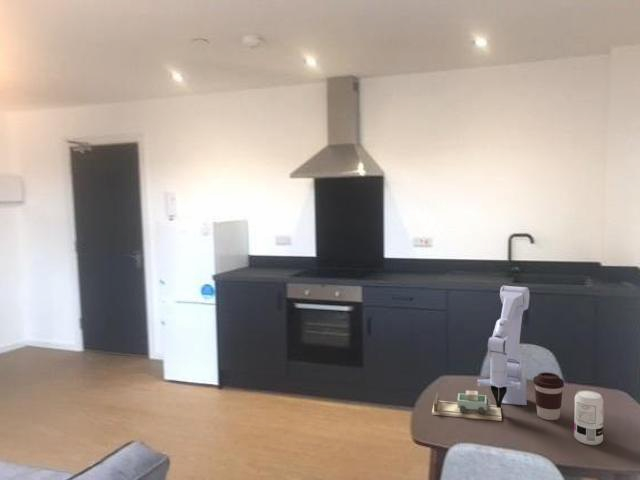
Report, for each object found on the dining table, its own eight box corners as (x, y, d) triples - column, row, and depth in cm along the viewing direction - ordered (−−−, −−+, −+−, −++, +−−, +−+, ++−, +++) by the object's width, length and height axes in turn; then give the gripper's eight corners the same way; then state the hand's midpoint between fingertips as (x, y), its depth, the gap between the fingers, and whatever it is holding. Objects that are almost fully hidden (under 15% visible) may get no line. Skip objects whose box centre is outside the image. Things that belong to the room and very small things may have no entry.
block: (477, 401, 192) (477, 391, 192) (477, 405, 189) (477, 395, 188) (466, 400, 193) (466, 390, 193) (466, 405, 190) (466, 394, 189)
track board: (500, 408, 194) (500, 397, 193) (501, 420, 183) (501, 409, 183) (434, 402, 201) (434, 392, 200) (431, 414, 190) (431, 403, 190)
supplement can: (568, 435, 171) (569, 390, 170) (592, 433, 172) (593, 389, 171) (583, 446, 163) (584, 400, 162) (608, 445, 164) (609, 398, 163)
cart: (489, 404, 194) (489, 394, 194) (490, 414, 185) (490, 404, 185) (458, 401, 197) (458, 392, 197) (457, 411, 188) (457, 401, 188)
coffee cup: (550, 424, 179) (550, 382, 178) (527, 414, 188) (527, 373, 187) (569, 418, 184) (570, 376, 182) (546, 408, 192) (546, 368, 191)
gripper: (477, 372, 186) (477, 409, 187) (521, 374, 181) (521, 412, 182) (477, 365, 192) (477, 401, 193) (519, 368, 188) (519, 404, 189)
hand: (498, 406), depth 188 cm, fingers closed
